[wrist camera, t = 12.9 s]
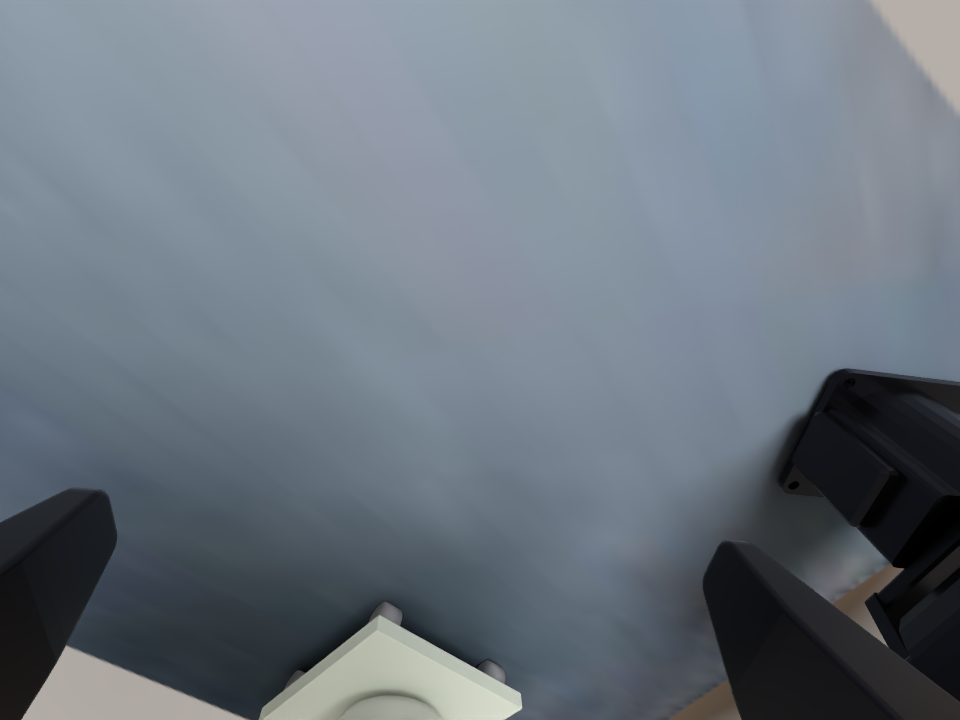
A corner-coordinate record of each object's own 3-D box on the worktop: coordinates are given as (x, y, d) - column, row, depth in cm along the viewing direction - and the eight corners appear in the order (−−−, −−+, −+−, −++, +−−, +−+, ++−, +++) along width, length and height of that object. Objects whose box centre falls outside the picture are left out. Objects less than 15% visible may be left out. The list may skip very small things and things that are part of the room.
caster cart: (383, 585, 27) (377, 629, 24) (517, 663, 30) (522, 708, 28) (272, 676, 30) (257, 723, 27) (405, 737, 33) (402, 783, 31)
